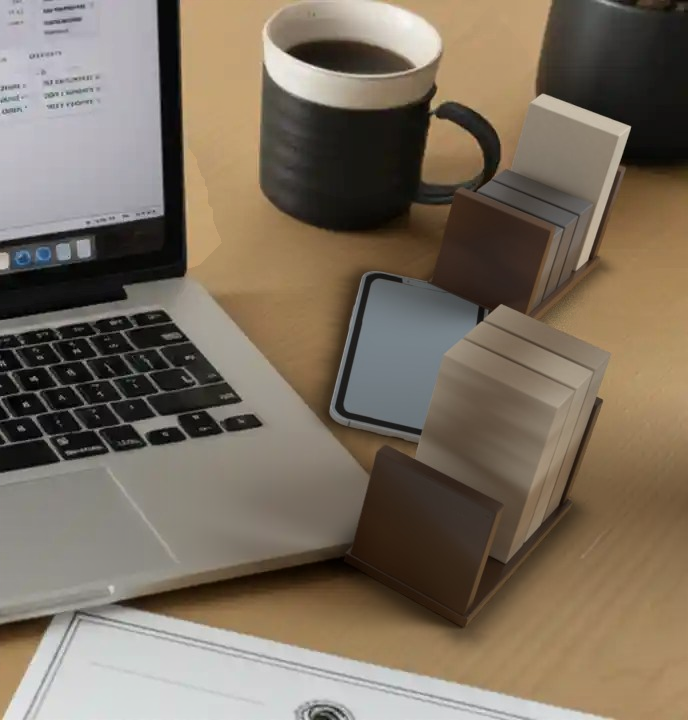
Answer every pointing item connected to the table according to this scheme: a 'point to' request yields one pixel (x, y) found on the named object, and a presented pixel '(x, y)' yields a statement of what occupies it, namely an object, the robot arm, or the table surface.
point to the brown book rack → (482, 465)
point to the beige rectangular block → (571, 156)
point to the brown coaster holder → (516, 243)
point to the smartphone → (397, 353)
